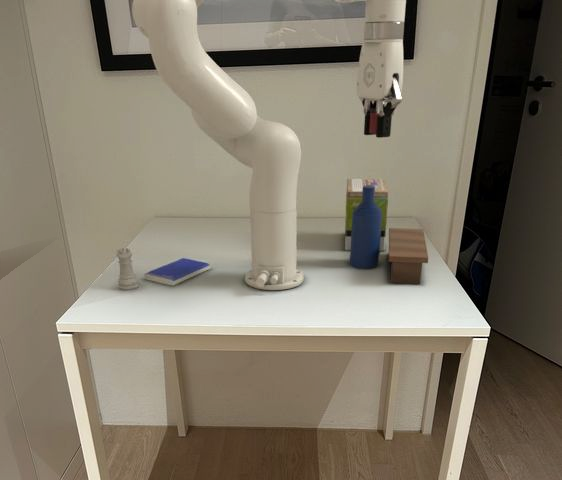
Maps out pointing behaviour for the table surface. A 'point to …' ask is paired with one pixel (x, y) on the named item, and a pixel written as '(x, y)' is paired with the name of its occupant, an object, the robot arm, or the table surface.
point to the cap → (373, 122)
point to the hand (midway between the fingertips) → (376, 134)
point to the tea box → (355, 199)
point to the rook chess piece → (126, 271)
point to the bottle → (366, 231)
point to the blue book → (177, 271)
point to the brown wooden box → (407, 255)
